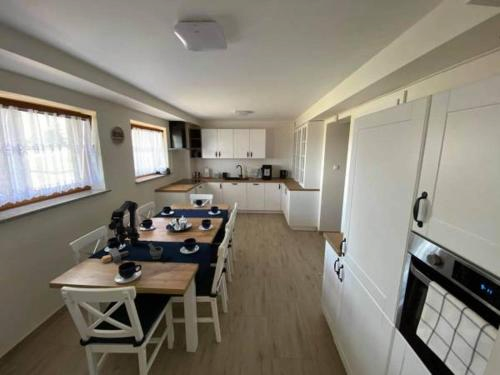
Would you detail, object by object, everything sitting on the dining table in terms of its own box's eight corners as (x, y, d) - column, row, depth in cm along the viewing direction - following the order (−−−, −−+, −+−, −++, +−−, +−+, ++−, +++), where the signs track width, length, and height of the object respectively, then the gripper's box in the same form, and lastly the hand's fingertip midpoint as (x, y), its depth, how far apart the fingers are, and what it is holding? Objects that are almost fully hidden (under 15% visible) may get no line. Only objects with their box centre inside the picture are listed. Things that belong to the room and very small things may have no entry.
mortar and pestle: (165, 254, 177) (164, 241, 174) (159, 260, 167) (158, 246, 165) (152, 254, 178) (151, 240, 175) (146, 259, 168) (145, 245, 166)
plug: (127, 253, 178) (127, 249, 177) (129, 255, 175) (128, 251, 174) (101, 261, 165) (100, 257, 164) (102, 263, 162) (101, 259, 161)
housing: (116, 253, 177) (116, 247, 176) (121, 261, 166) (120, 254, 165) (109, 255, 174) (108, 249, 173) (113, 263, 162) (113, 256, 161)
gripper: (133, 226, 167) (135, 244, 170) (127, 220, 181) (129, 237, 183) (118, 229, 160) (119, 248, 162) (112, 223, 173) (114, 241, 176)
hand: (121, 243), depth 171 cm, fingers open, 9 cm apart
